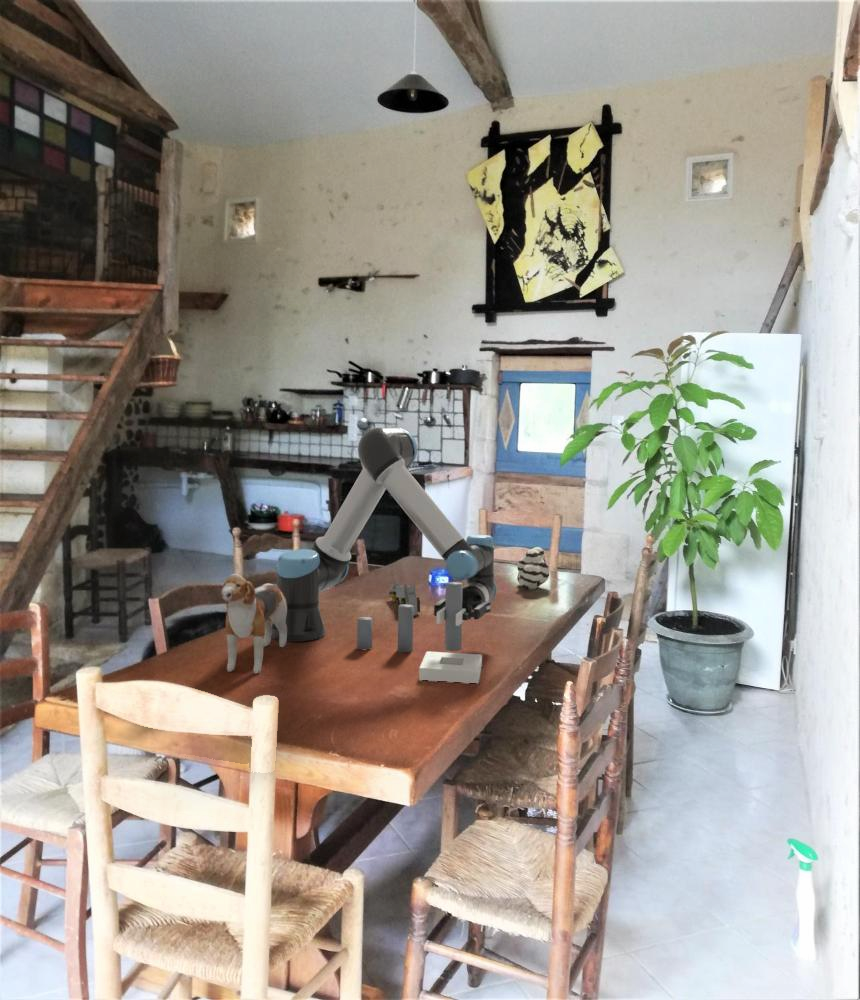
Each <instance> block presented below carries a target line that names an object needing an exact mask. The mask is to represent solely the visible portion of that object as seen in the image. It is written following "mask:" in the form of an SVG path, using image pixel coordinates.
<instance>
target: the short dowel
mask: <svg viewBox="0 0 860 1000" xmlns="http://www.w3.org/2000/svg"><path fill="white" fill-rule="evenodd" d="M356 620H357V627H356V631H357V632H356V649H357V648H358V649H357V650H359V649H370V648H372V649H373V618H372V617H370V616H360V617H357V619H356ZM370 650H371V649H370Z"/></svg>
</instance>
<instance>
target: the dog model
mask: <svg viewBox="0 0 860 1000" xmlns="http://www.w3.org/2000/svg"><path fill="white" fill-rule="evenodd" d="M220 595H221V597H222V599H223V601H224V603H226V604H227V611H226V616H225V632H226V641H227V664H226V670H227V672H228V673H231V672H233V671H234V670H235V668H236V663H237V662H236V661H237V656H238V655H237V654H238V653H237V651H238V649H237V648H238V641H239V638H241V639H243V638H248V637H250V636H252V641H253V659H254V661H253V662H254V664H253V674H255V675H257V673H258V674H260V672H261V671H262V665H263V659H264V647H265V646H267V647H268V645H269V646H270V644H271V642H272V637H271V634H272V627H271V624H272V623H271V621H272V622H273V623H274V624H275V626H276V628H277V629H278V631H279V640H278V645H279V648H280V647H282V648H284V647H285V646H286V644H287V642H288V641H287V626H286V615H287V603H286V599H285V597H284V595H283V592H281V590H280V589H279V588H278V587H277V585H275V584H273V583H269V582H268V583H264V584H260V586H257V587H254V584H253V583H252V582H251V581H249V580H247V579H245V578H244V577H243V576H242V575H240V574H238V573H232V574H230V575H229V576H228V577H227V578H226V579H225V581H224V583H223V585H222V588H221V592H220Z"/></svg>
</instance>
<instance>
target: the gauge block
mask: <svg viewBox="0 0 860 1000" xmlns="http://www.w3.org/2000/svg"><path fill="white" fill-rule="evenodd" d="M424 654H425V655H424V657H423V658H422V661H421V663H420V666H419V669H418V681H422V680H428V681H427V682H437V681H447V682H446V683H453V682H463V683H462V684H469V683H477V684H476V685H479V684H478V683H479V682H480V679H481V673H482V668H483V667H482V666H483V654H479V653H478V654H477V653H462V652H461V653H460V652H447V651H446V652H445V651H444V652H443V651H429V650H428V651H426V652H425V653H424ZM481 667H482V668H481Z"/></svg>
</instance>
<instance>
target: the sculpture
mask: <svg viewBox="0 0 860 1000" xmlns="http://www.w3.org/2000/svg"><path fill="white" fill-rule="evenodd" d="M516 567H517V571H518V573H517V579H516V580H517V582H518V584H519V587H520V588H522V589H524V590H535V589H536V588H538V587H540V586H541V585H543V584H545V583H546V582H547V581H548V580H549V577H550V573H551V572H550V567H549V564H548V562H547V561H546V559H545V551H544V548H542V547H540V546H535V547H533V548H531V549H529V550H528V551H526V553H525V555H524V556H523V557H522V558H521V559H519V560H518V562H517V566H516Z"/></svg>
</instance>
